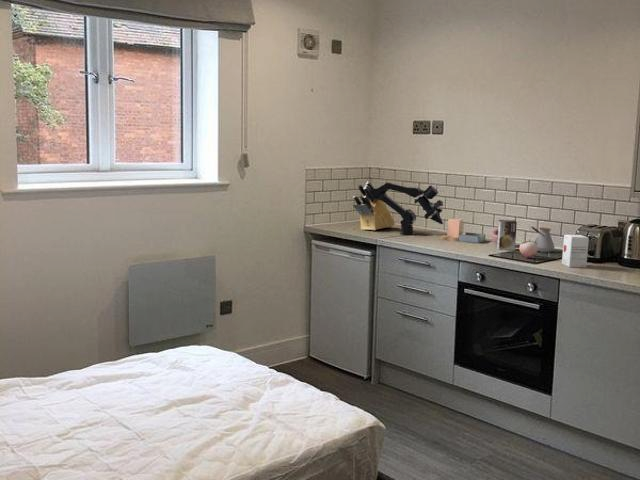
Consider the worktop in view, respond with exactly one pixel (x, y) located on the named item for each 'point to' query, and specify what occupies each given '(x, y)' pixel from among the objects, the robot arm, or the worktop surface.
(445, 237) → the tan wooden slab
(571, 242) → the supplement box
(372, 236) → the worktop surface
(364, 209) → the knife block
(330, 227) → the worktop surface
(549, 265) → the worktop surface
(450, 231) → the terracotta block
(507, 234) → the coffee box
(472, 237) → the slate tray
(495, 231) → the mortar and pestle
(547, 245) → the coffee pot
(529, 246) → the decorative fruit
